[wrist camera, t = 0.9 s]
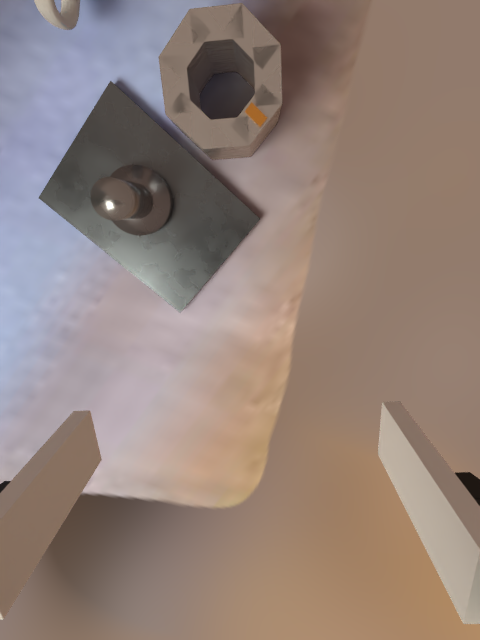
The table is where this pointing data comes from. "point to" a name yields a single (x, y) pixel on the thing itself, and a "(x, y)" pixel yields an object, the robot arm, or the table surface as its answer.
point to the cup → (65, 17)
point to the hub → (221, 57)
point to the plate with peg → (146, 200)
